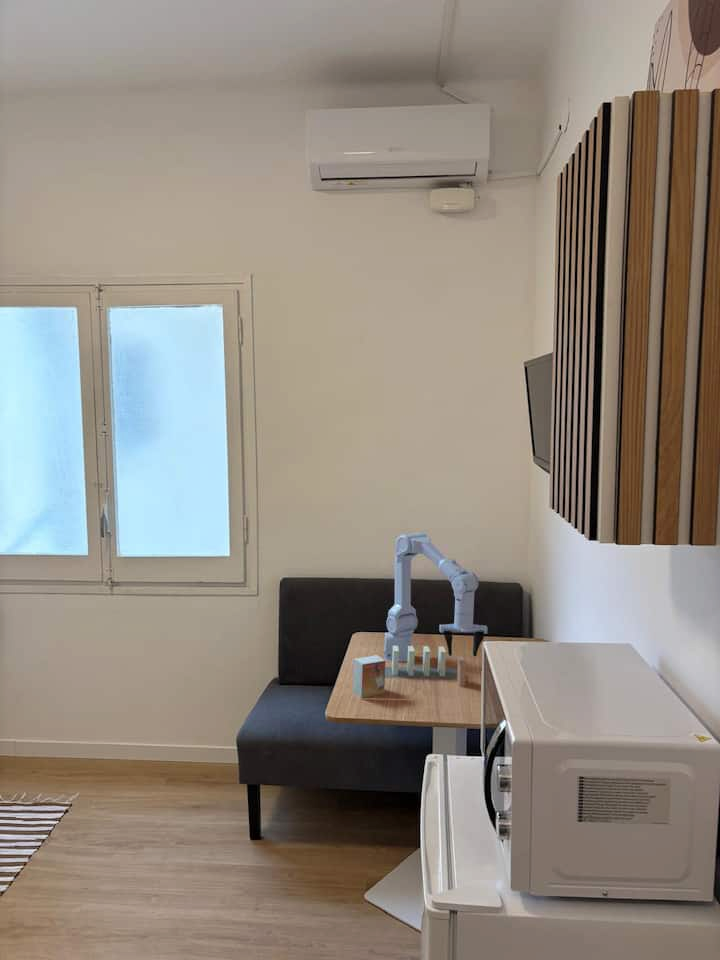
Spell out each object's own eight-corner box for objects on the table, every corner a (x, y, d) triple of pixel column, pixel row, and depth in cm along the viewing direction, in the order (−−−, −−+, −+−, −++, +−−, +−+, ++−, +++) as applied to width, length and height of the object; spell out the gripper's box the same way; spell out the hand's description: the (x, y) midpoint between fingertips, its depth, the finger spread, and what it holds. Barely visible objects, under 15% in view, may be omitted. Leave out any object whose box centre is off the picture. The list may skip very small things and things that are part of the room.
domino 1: (393, 675, 217) (393, 650, 217) (391, 669, 222) (392, 645, 222) (398, 675, 217) (398, 651, 217) (396, 669, 222) (397, 645, 222)
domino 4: (439, 676, 218) (440, 651, 217) (437, 670, 223) (438, 646, 222) (444, 676, 218) (445, 651, 217) (442, 670, 223) (443, 646, 222)
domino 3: (424, 675, 218) (425, 651, 217) (422, 670, 223) (423, 646, 222) (429, 675, 218) (430, 651, 217) (427, 670, 223) (428, 646, 222)
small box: (361, 699, 200) (362, 664, 199) (352, 692, 204) (353, 658, 203) (384, 694, 203) (386, 660, 202) (375, 687, 208) (376, 654, 207)
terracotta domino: (459, 687, 210) (460, 662, 209) (456, 681, 215) (458, 656, 214) (464, 687, 210) (465, 662, 209) (462, 681, 215) (463, 656, 214)
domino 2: (408, 675, 218) (409, 651, 217) (407, 669, 223) (408, 645, 222) (413, 675, 218) (414, 651, 217) (412, 669, 223) (413, 645, 222)
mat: (380, 678, 215) (380, 677, 215) (378, 668, 224) (378, 666, 224) (465, 680, 216) (465, 679, 216) (460, 669, 225) (460, 668, 225)
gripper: (442, 615, 206) (440, 659, 207) (490, 616, 206) (488, 660, 208) (439, 608, 213) (437, 651, 214) (485, 609, 213) (483, 652, 215)
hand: (462, 655), depth 212 cm, fingers open, 7 cm apart
